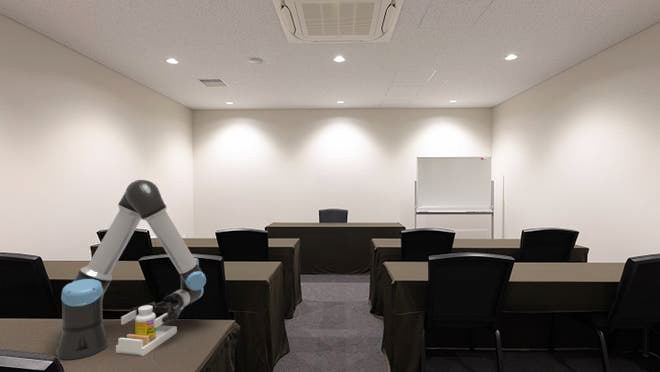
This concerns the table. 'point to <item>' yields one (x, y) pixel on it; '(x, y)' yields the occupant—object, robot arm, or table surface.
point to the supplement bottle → (145, 322)
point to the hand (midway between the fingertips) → (138, 322)
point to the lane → (137, 345)
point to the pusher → (140, 337)
